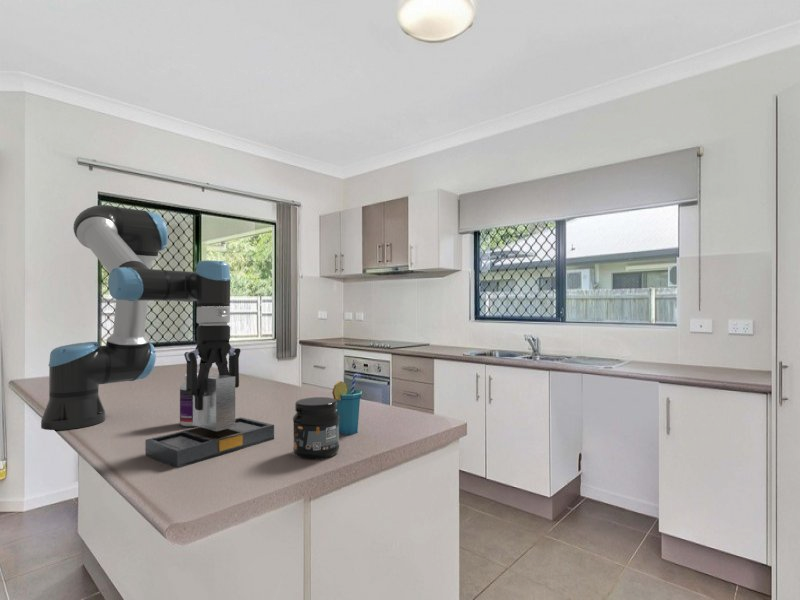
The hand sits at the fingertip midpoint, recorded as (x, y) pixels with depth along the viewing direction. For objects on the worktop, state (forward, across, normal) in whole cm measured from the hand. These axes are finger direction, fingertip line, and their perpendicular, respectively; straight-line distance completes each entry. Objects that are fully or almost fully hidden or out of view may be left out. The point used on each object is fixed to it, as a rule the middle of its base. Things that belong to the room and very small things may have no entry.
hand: (213, 420), depth 107 cm
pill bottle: (+6, +9, +24) cm, 27 cm away
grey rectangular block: (+1, 0, 0) cm, 1 cm away
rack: (+6, 0, 0) cm, 6 cm away
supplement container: (+7, +11, -24) cm, 27 cm away
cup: (+7, +29, -18) cm, 35 cm away
